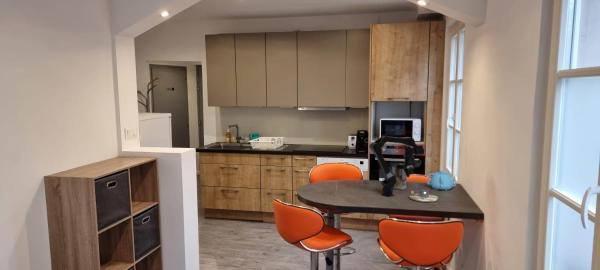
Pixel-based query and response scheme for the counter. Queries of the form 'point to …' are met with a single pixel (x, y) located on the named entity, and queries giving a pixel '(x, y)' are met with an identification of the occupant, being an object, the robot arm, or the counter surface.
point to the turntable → (416, 197)
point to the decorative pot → (441, 180)
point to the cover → (424, 193)
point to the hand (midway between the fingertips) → (408, 177)
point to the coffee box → (400, 178)
